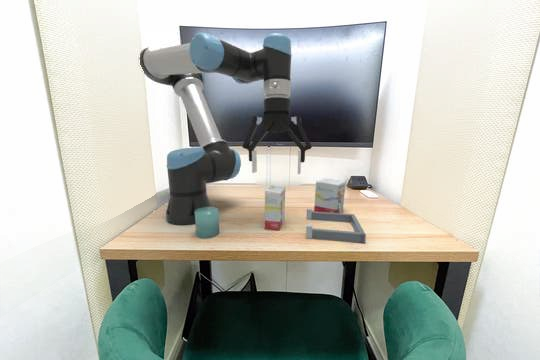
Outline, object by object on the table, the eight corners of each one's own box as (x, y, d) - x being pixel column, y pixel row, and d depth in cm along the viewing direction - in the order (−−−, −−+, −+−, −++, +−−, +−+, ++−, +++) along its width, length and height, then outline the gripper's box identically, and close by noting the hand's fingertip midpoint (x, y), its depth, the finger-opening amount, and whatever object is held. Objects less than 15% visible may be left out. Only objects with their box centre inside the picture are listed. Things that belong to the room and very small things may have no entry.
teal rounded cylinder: (191, 237, 58) (190, 213, 57) (203, 227, 64) (201, 206, 63) (213, 239, 57) (212, 215, 56) (222, 229, 63) (221, 207, 62)
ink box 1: (279, 231, 63) (280, 192, 60) (263, 229, 64) (263, 191, 61) (285, 220, 71) (286, 185, 68) (271, 218, 72) (271, 184, 70)
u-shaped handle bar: (305, 238, 58) (306, 226, 57) (306, 217, 73) (306, 207, 72) (365, 243, 55) (366, 231, 55) (353, 221, 70) (354, 210, 70)
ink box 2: (335, 217, 74) (338, 184, 71) (313, 212, 79) (314, 180, 76) (343, 210, 80) (346, 180, 78) (322, 206, 85) (324, 177, 83)
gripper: (230, 97, 58) (232, 173, 62) (323, 94, 54) (319, 176, 58) (238, 101, 65) (240, 169, 70) (321, 99, 61) (318, 172, 65)
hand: (276, 172), depth 64 cm, fingers open, 13 cm apart
